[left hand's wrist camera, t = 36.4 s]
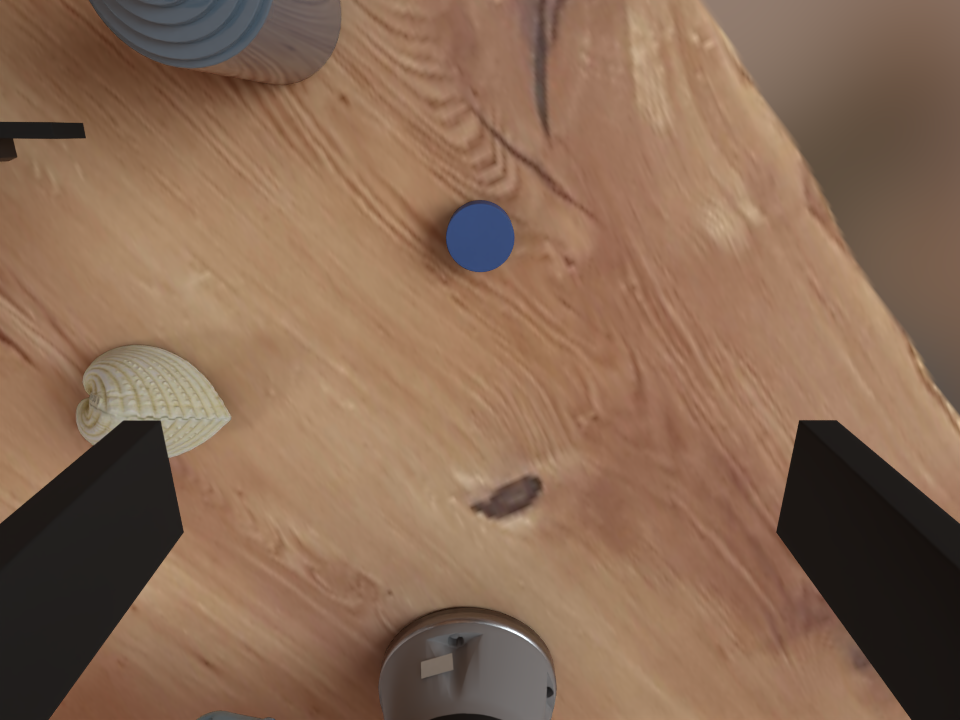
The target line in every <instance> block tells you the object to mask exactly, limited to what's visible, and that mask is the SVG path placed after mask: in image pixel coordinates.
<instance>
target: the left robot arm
mask: <svg viewBox="0 0 960 720" xmlns="http://www.w3.org/2000/svg"><path fill="white" fill-rule="evenodd" d="M183 533H184V531H183V526H182V522H181V517H180V512H179V507H178V502H177V497H176V492H175V487H174V483H173V478H172V473H171V468H170V463H169V458H168V453H167V448H166V444H165V439H164V434H163V429H162V424H161V420H123V421H122V422H121V423H120V424H119V425H117V426H116V427H115V428H114V429H113V430H111V431H110V432H109V433H108V434H107V435H105V436H104V437H103V438H102V439H101V440H100V441H98V442H97V443H96V444H95V445H94V446H92V447H91V448H90V449H89V450H88V451H86V452H85V453H84V454H83V455H82V456H80V457H79V458H78V459H77V460H76V461H75V462H73V463H72V464H71V465H70V466H69V467H67V468H66V469H65V470H64V471H63V472H61V473H60V474H59V475H58V476H57V477H55V478H54V479H53V480H52V481H51V482H49V483H48V484H47V485H46V486H45V487H44V488H42V489H41V490H40V491H39V492H38V493H36V494H35V495H34V496H33V497H32V498H30V499H29V500H28V501H27V502H26V503H24V504H23V505H22V506H21V507H20V508H18V509H17V510H16V511H15V512H14V513H13V514H11V515H10V516H9V517H8V518H7V519H5V520H4V521H3V522H2V523H1V524H0V720H49V718H50V717H51V716H52V714H53V713H54V711H55V710H56V709H57V707H58V706H59V705H60V703H61V702H62V700H63V699H64V698H65V696H66V695H67V693H68V692H69V691H70V689H71V688H72V686H73V685H74V684H75V682H76V681H77V680H78V678H79V677H80V675H81V674H82V673H83V671H84V670H85V668H86V667H87V666H88V664H89V663H90V662H91V660H92V659H93V657H94V656H95V655H96V653H97V652H98V650H99V649H100V648H101V646H102V645H103V643H104V642H105V641H106V639H107V638H108V637H109V635H110V634H111V632H112V631H113V630H114V628H115V627H116V625H117V624H118V623H119V621H120V620H121V619H122V617H123V616H124V614H125V613H126V612H127V610H128V609H129V607H130V606H131V605H132V603H133V602H134V600H135V599H136V598H137V596H138V595H139V594H140V592H141V591H142V589H143V588H144V587H145V585H146V584H147V582H148V581H149V580H150V578H151V577H152V576H153V574H154V573H155V571H156V570H157V569H158V567H159V566H160V564H161V563H162V562H163V560H164V559H165V557H166V556H167V555H168V553H169V552H170V551H171V549H172V548H173V546H174V545H175V544H176V542H177V541H178V539H179V538H180V537H181V535H182V534H183ZM776 533H777V534H778V535H779V537H780V538H781V539H782V541H783V542H784V544H785V545H786V546H787V548H788V549H789V551H790V552H791V553H792V555H793V556H794V558H795V559H796V560H797V562H798V563H799V564H800V566H801V567H802V569H803V570H804V571H805V573H806V574H807V576H808V577H809V578H810V580H811V581H812V582H813V584H814V585H815V587H816V588H817V589H818V591H819V592H820V594H821V595H822V596H823V598H824V599H825V600H826V602H827V603H828V605H829V606H830V607H831V609H832V610H833V612H834V613H835V614H836V616H837V617H838V619H839V620H840V621H841V623H842V624H843V625H844V627H845V628H846V630H847V631H848V632H849V634H850V635H851V637H852V638H853V639H854V641H855V642H856V643H857V645H858V646H859V648H860V649H861V650H862V652H863V653H864V655H865V656H866V657H867V659H868V660H869V662H870V663H871V664H872V666H873V667H874V668H875V670H876V671H877V673H878V674H879V675H880V677H881V678H882V680H883V681H884V682H885V684H886V685H887V686H888V688H889V689H890V691H891V692H892V693H893V695H894V696H895V698H896V699H897V700H898V702H899V703H900V705H901V706H902V707H903V709H904V710H905V711H906V713H907V714H908V716H909V717H910V718H911V720H960V524H959V523H958V522H957V521H956V520H955V519H953V518H952V517H951V516H950V515H949V514H947V513H946V512H945V511H944V510H943V509H942V508H940V507H939V506H938V505H937V504H936V503H934V502H933V501H932V500H931V499H930V498H928V497H927V496H926V495H925V494H924V493H922V492H921V491H920V490H919V489H918V488H916V487H915V486H914V485H913V484H912V483H911V482H909V481H908V480H907V479H906V478H905V477H903V476H902V475H901V474H900V473H899V472H897V471H896V470H895V469H894V468H893V467H891V466H890V465H889V464H888V463H887V462H885V461H884V460H883V459H882V458H881V457H880V456H878V455H877V454H876V453H875V452H874V451H872V450H871V449H870V448H869V447H868V446H866V445H865V444H864V443H863V442H862V441H860V440H859V439H858V438H857V437H856V436H855V435H853V434H852V433H851V432H850V431H849V430H847V429H846V428H845V427H844V426H843V425H841V424H840V423H839V422H838V421H837V420H799V424H798V429H797V434H796V439H795V444H794V448H793V453H792V458H791V463H790V468H789V473H788V478H787V483H786V487H785V492H784V497H783V502H782V507H781V512H780V517H779V522H778V526H777V531H776ZM379 698H380V704H381V707H382V711H383V715H384V720H551V717H552V712H553V709H554V704H555V698H556V678H555V671H554V664H553V660H552V657H551V654H550V652H549V650H548V648H547V646H546V645H545V643H544V642H543V640H542V639H541V638H540V637H539V636H538V635H537V634H536V633H535V632H534V631H533V630H532V629H531V628H529V627H528V626H527V625H525V624H524V623H522V622H521V621H519V620H517V619H515V618H513V617H510V616H508V615H506V614H503V613H500V612H496V611H492V610H487V609H480V608H454V609H448V610H443V611H438V612H435V613H432V614H429V615H427V616H424V617H422V618H420V619H418V620H416V621H414V622H413V623H411V624H410V625H408V626H407V627H405V628H404V629H403V630H402V631H401V632H400V633H399V634H398V635H397V636H396V637H395V638H394V639H393V641H392V642H391V643H390V645H389V647H388V648H387V650H386V653H385V655H384V658H383V662H382V667H381V673H380V678H379ZM197 720H275V719H273V718H271V717H267V718H264V719H261V718H256V717H251V716H246V715H241V714H236V713H232V712H227V711H214V712H210V713H207V714H205V715H203V716H201V717H200V718H198V719H197Z"/></svg>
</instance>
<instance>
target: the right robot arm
mask: <svg viewBox="0 0 960 720" xmlns="http://www.w3.org/2000/svg"><path fill="white" fill-rule="evenodd" d="M13 138H25V139H68V138H86V137H85V132H84V127H83V123H56V122H0V162H2V161H10V160H12V159H14V158H16V157H17V154H16V150H15V145H14V141H13Z"/></svg>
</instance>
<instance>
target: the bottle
mask: <svg viewBox="0 0 960 720" xmlns="http://www.w3.org/2000/svg"><path fill="white" fill-rule="evenodd" d="M89 1H90V3H91V4H92V6H93V7H94V9H95V11H96V12H97V14H98V15H99V16H100V18H101V19H102V20H103V21H104V23H105V24H106V25H107V27H108V28H109V29H110V30H111V31H112V32H113V33H114V34H115V35H116V36H117V37H118V38H119V39H121V40H122V41H123V42H124V43H125V44H127V45H128V46H129V47H131V48H132V49H134V50H135V51H137V52H138V53H140V54H141V55H143V56H145V57H147V58H149V59H151V60H153V61H156V62H159V63H162V64H165V65H168V66H173V67H178V68H183V69H189V70H195V71H200V72H206V73H211V74H217V75H223V76H228V77H234V78H239V79H245V80H251V81H256V82H262V83H268V84H276V85H284V84H292V83H296V82H299V81H302V80H304V79H306V78H308V77H310V76H311V75H313V74H314V73H315V72H317V71H318V70H319V69H320V68H321V67H322V66H323V65H324V64H325V63H326V61H327V60H328V59H329V57H330V56H331V54H332V52H333V50H334V48H335V46H336V43H337V40H338V36H339V32H340V26H341V6H340V0H89Z"/></svg>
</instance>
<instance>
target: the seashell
mask: <svg viewBox="0 0 960 720" xmlns="http://www.w3.org/2000/svg"><path fill="white" fill-rule="evenodd" d="M83 385H84V388H85V391H86V392H87V393H88V394H89V395H90V397H89V398H86V399H83V400H82V401H81V402H80V403H79V405H78V407H77V409H76V423H77V426H78V429H79V431H80V433H81V435H82V436H83V437H84V438H85V439H86V440H87V441H88V442H89V443H91V444H92V445H95V444H96V443H97V442H98V441H100V440H101V439H102V438H103V437H104V436H105V435H107V434H108V433H109V432H110V431H111V430H113V429H114V428H115V427H116V426H117V425H119V424H120V423H121V422H122V421H123V420H161V424H162V429H163V434H164V439H165V444H166V448H167V453H168V458H170V457H174V456H177V455H180V454H182V453H185V452H187V451H189V450H191V449H193V448H195V447H197V446H199V445H200V444H202V443H204V442H205V441H206V440H208V439H209V438H211V437H212V436H213V435H214V434H216V433H217V432H218V431H219V430H220V429H221V428H222V427H223V426H224V425H225V424H227V423H228V422H229V421H230V420H231V415H230V413H229V412H228V410H227V408H226V407H225V405H224V403H223V401H222V399H221V398H220V397H219V396H218V393H217V392H216V391H215V390H214V387H213V386H212V385H211V383H210V382H209V381H208V380H207V378H206V377H205V376H204V375H203V374H201V373H200V372H199V371H198V370H197V369H196V368H195V367H194V366H193V365H191V364H190V363H189V362H188V361H186V360H184V359H183V358H181V357H179V356H177V355H175V354H173V353H171V352H169V351H167V350H164V349H161V348H157V347H152V346H146V345H129V346H122V347H118V348H115V349H112V350H110V351H107V352H105V353H104V354H102V355H100V356H99V357H98V358H96V359H95V360H94V361H93V362H92V363H91V365H90V366H89V367H88V368H87V370H86V371H85V373H84V376H83Z"/></svg>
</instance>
